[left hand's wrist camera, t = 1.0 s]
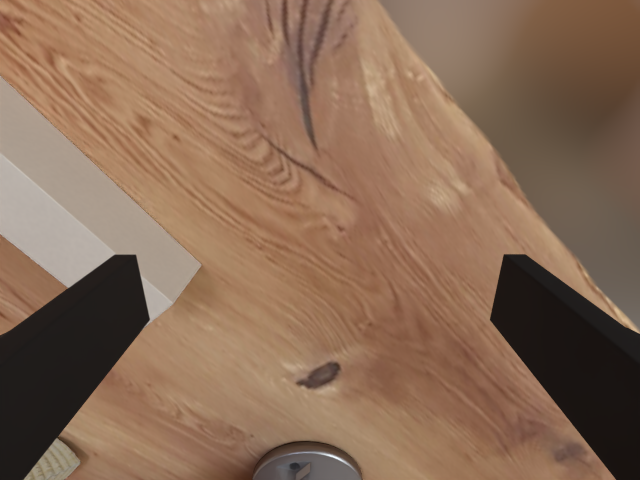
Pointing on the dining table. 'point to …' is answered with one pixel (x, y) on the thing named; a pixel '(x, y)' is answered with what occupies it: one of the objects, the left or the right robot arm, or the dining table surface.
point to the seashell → (55, 463)
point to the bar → (77, 209)
